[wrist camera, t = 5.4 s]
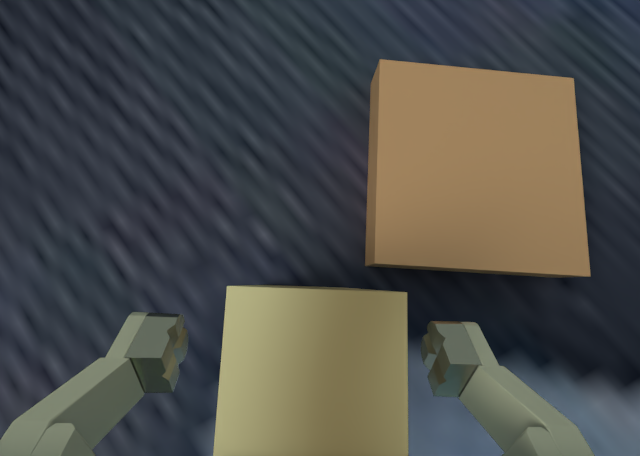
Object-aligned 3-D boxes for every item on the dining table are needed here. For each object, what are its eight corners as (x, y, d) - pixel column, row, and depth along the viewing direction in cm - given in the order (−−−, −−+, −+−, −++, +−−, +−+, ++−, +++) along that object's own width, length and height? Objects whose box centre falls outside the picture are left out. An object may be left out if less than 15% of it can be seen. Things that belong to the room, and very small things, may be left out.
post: (259, 372, 15) (210, 491, 7) (264, 284, 16) (226, 285, 7) (344, 374, 16) (408, 491, 7) (346, 287, 16) (407, 292, 8)
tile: (363, 266, 17) (374, 263, 15) (368, 88, 19) (379, 59, 16) (549, 277, 18) (590, 276, 15) (538, 104, 19) (573, 78, 17)
